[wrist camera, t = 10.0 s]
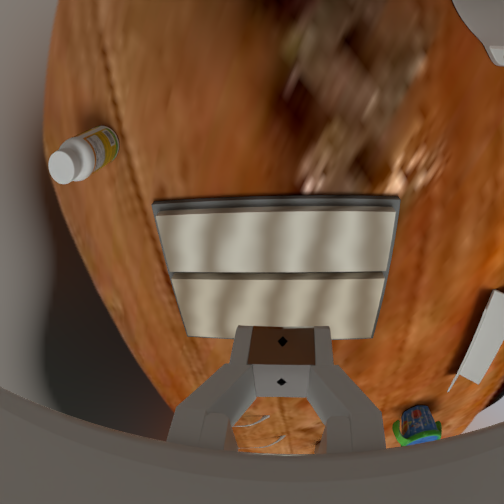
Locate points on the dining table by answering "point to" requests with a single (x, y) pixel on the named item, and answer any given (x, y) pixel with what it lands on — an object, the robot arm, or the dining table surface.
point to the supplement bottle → (84, 155)
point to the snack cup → (417, 427)
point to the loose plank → (278, 301)
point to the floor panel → (278, 235)
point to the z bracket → (484, 340)
